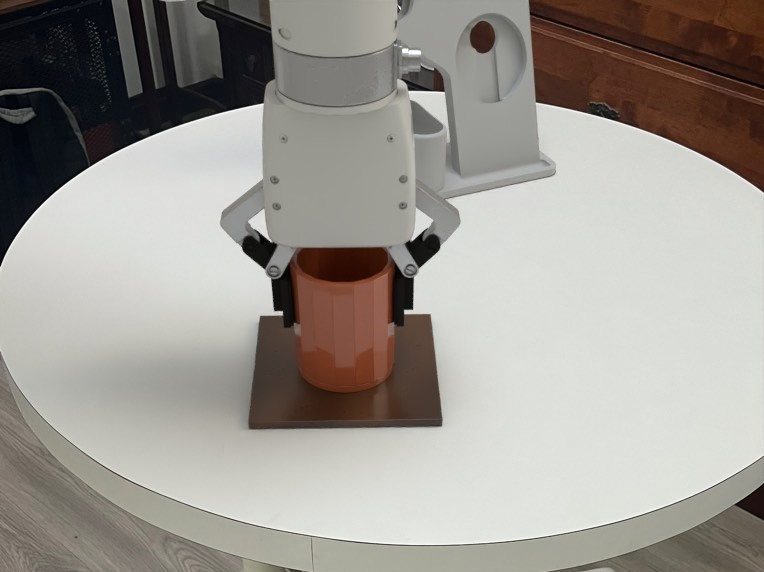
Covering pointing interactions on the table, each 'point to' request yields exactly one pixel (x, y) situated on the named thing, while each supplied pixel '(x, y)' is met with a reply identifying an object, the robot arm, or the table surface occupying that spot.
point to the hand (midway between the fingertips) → (344, 315)
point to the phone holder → (475, 96)
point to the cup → (343, 316)
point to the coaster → (354, 409)
